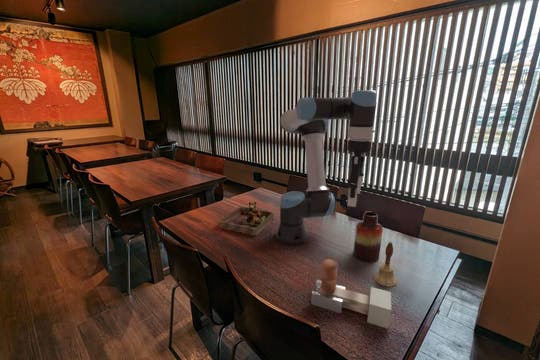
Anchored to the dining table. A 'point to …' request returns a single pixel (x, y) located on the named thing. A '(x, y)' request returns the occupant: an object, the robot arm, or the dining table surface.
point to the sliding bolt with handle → (349, 297)
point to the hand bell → (386, 270)
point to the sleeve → (326, 299)
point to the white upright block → (379, 308)
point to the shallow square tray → (249, 230)
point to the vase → (368, 238)
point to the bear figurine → (253, 216)
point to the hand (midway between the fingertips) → (353, 199)
